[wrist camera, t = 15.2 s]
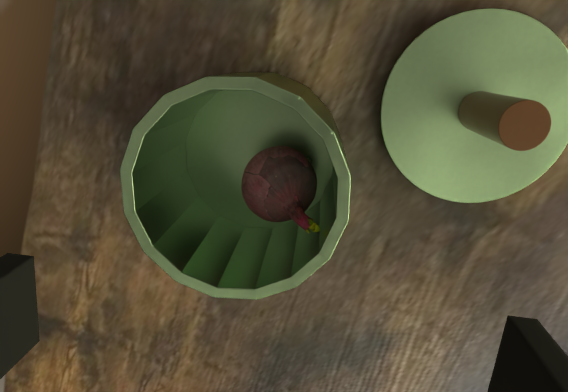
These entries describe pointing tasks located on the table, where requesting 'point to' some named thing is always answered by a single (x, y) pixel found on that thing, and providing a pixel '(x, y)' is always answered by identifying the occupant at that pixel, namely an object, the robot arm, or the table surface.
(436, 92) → the canister lid
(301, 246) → the canister
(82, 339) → the table surface
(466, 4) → the table surface
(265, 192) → the vegetable
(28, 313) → the robot arm
